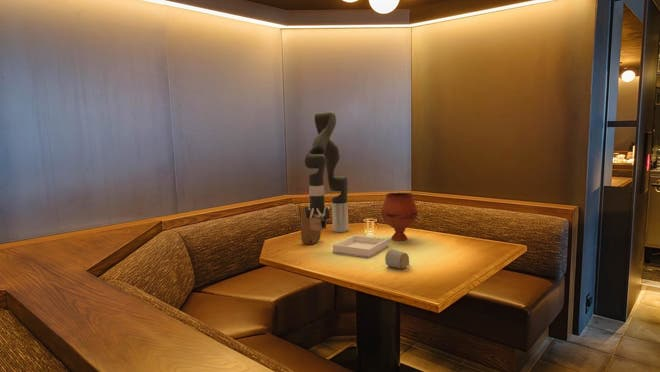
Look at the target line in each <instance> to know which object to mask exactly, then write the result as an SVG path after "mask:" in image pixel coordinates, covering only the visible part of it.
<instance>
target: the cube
mask: <svg viewBox="0 0 660 372" xmlns="http://www.w3.org/2000/svg"><path fill="white" fill-rule="evenodd" d="M325 229H327V226H326V227H325V228H322V218H321V217H320V216H314V217H311V218H310V230H318V231H321V232H322V231H323V230H325Z"/></svg>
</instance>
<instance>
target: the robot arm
mask: <svg viewBox="0 0 660 372" xmlns="http://www.w3.org/2000/svg"><path fill="white" fill-rule="evenodd" d="M314 122H315V123H314V124H315V128H316V131H317V135H316V137H314V140H313V143H312V146H311V148H310V150H309V151H308V152H307V154H306V155H305V158H304V165H305V167H306V168H307V169H318V170H317V171H316V172H313V173H310V174H309V175H308V179H309V180H308V182H309V183H308V184H309V190H308V193H309V205H306V206H304V207H305V211H306V217H307V218H309V219H310V218H311V217H314V216H315V215H316V214H318V215H319V216H320V217H321V218H322V228H325V227H326V228H327V221H328V220H329V219H330V216H331V210H332V231H333V232H335V233H345V232H347V231H349V214H348V210H349V209H348V184H349V183H348V182H349V181H348V178H347V176H345V175H335V169H336V167H337V166H338V164H339V161H340V158H341V157H340V151H339V147H338V144H336V142H335V141H334V139H332V138H331V136H332V134H333V132H334V130H335V128H336V125H337V116H336V113H335V112H334V111H321V112H320V111H319V112H316V113H315V114H314ZM325 169H326V173H327V174H326V175H327V181H328V187H329V190H330V191H331V192H340V194H338V195H336V196H334V197H332V198H331V207H327V206H326V205H325V200H326V199H325V186H324V174H325ZM310 209H311V213H310Z"/></svg>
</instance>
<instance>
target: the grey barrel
mask: <svg viewBox="0 0 660 372" xmlns="http://www.w3.org/2000/svg"><path fill="white" fill-rule="evenodd" d="M384 257H385V258H384V261H385V265H386V266H387V267H390V268H391V267H392V268H395V269H399V270H405V269H406V268H407V267H408V266H409V265H410V262H411V261H410V257H409V254H408V253H406V252H404V251H401V250H398V249H394V248H389V250H387V252H386V254H385V256H384Z"/></svg>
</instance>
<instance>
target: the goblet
mask: <svg viewBox="0 0 660 372" xmlns="http://www.w3.org/2000/svg"><path fill="white" fill-rule="evenodd" d="M381 215H382V216H381V218H382V219H383V220H384V222H385V223H386V224H387V225H388V226H389V227H391V228H393V229H394V233H393V235H392V236H391V240H393V241H407V240H408V239H409V238H408V236H407V235H406V233H405V232H406V229H407V228H409V227H410V226H412V225H413V224H414V223H415V221H416V220H417V219H418V218H417V217H418V207H417V205H416V202H415V199H414V196H413V193H411V192H389V193H386V194H385V198H384V200H383V203H382V207H381Z"/></svg>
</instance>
